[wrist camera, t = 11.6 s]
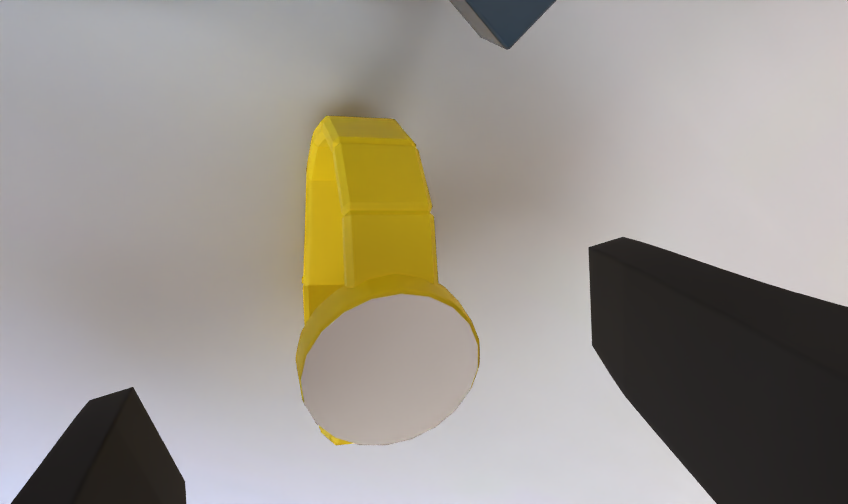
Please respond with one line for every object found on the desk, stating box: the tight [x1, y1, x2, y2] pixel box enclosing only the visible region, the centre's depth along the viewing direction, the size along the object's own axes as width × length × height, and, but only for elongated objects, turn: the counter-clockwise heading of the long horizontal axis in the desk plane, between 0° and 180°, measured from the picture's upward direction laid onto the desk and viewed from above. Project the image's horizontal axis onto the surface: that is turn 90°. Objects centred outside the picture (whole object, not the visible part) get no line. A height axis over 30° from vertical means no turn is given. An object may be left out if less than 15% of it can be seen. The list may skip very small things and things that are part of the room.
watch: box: [296, 116, 480, 445], centre depth 12 cm, size 6×3×6 cm, turn 173°
